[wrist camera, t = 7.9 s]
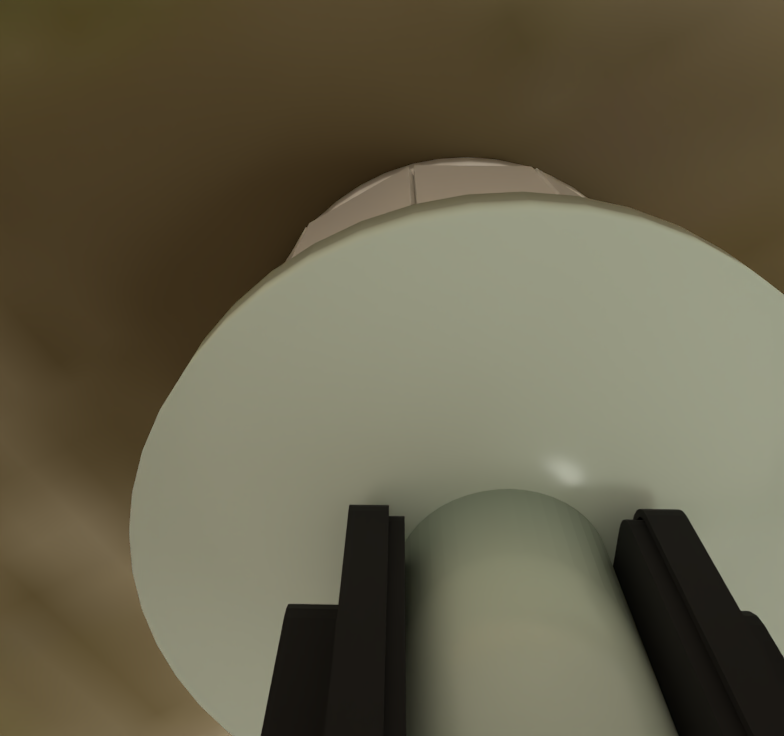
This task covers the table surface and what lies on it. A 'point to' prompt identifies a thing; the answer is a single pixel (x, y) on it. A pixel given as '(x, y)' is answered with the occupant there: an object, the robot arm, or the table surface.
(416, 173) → the bowl
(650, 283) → the lid
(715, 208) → the table surface
